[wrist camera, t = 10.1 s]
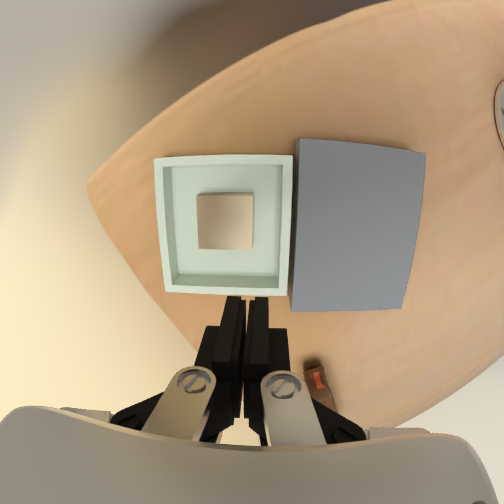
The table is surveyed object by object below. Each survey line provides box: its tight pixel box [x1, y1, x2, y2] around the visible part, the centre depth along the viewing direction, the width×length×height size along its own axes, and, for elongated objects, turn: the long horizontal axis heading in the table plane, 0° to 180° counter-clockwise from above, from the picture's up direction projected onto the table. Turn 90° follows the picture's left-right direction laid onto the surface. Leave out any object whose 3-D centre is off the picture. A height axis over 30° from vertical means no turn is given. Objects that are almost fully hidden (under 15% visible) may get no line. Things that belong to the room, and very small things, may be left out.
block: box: [196, 192, 254, 250], centre depth 26 cm, size 5×5×2 cm
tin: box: [303, 367, 337, 413], centre depth 32 cm, size 15×3×8 cm, turn 19°
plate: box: [289, 138, 426, 312], centre depth 26 cm, size 12×16×4 cm
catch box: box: [154, 154, 293, 296], centre depth 26 cm, size 12×13×3 cm
